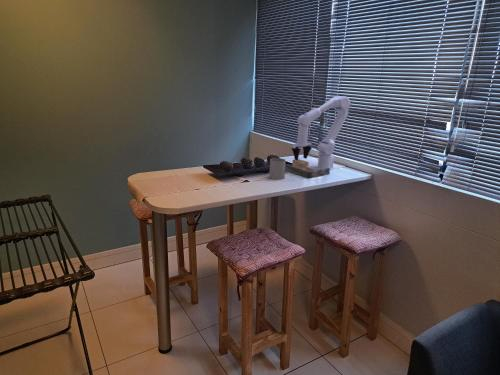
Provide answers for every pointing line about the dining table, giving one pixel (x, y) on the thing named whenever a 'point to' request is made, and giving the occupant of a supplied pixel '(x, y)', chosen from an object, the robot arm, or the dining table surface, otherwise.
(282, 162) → the cup
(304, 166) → the block
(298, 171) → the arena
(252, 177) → the dining table surface
